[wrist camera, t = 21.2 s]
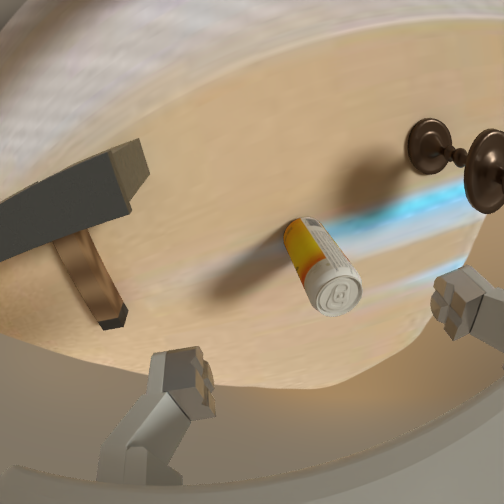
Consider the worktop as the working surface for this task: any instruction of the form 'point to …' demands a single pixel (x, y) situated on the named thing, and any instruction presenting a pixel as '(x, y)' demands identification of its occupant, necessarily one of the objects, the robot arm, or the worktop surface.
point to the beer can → (322, 268)
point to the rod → (92, 279)
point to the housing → (72, 199)
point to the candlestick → (462, 161)
